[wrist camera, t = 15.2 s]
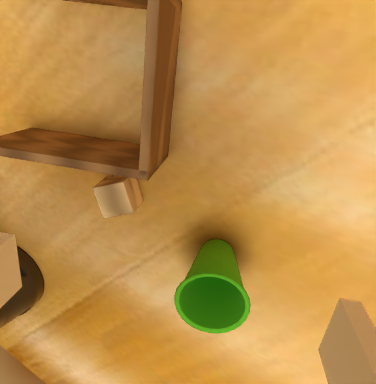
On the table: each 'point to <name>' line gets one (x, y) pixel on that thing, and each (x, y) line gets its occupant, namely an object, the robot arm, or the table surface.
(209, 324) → the cup
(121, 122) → the table surface
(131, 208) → the beech cube
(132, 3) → the walnut bay
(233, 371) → the table surface
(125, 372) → the table surface
